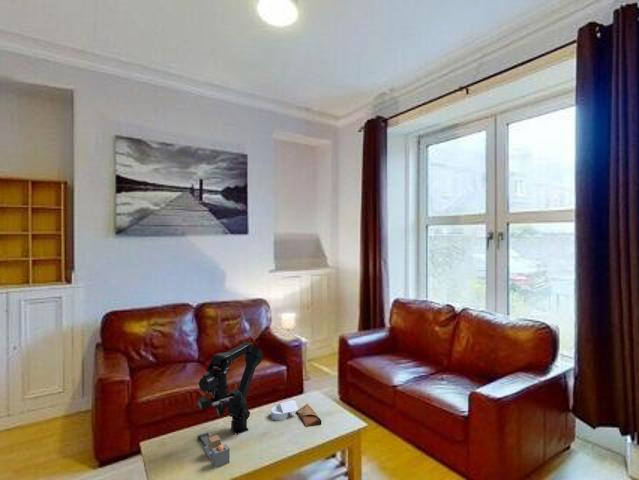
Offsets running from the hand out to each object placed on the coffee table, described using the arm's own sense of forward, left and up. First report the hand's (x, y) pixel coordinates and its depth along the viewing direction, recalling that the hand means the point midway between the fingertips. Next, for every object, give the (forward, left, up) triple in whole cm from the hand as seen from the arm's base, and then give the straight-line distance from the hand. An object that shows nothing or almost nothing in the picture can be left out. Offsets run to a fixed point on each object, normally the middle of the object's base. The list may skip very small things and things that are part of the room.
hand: (220, 417), depth 167 cm
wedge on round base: (-37, -6, -12) cm, 39 cm away
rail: (+5, +1, -12) cm, 13 cm away
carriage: (+5, +6, -12) cm, 14 cm away
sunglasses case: (-45, +3, -13) cm, 47 cm away
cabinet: (+5, +13, -12) cm, 19 cm away
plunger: (+5, +13, -8) cm, 16 cm away
